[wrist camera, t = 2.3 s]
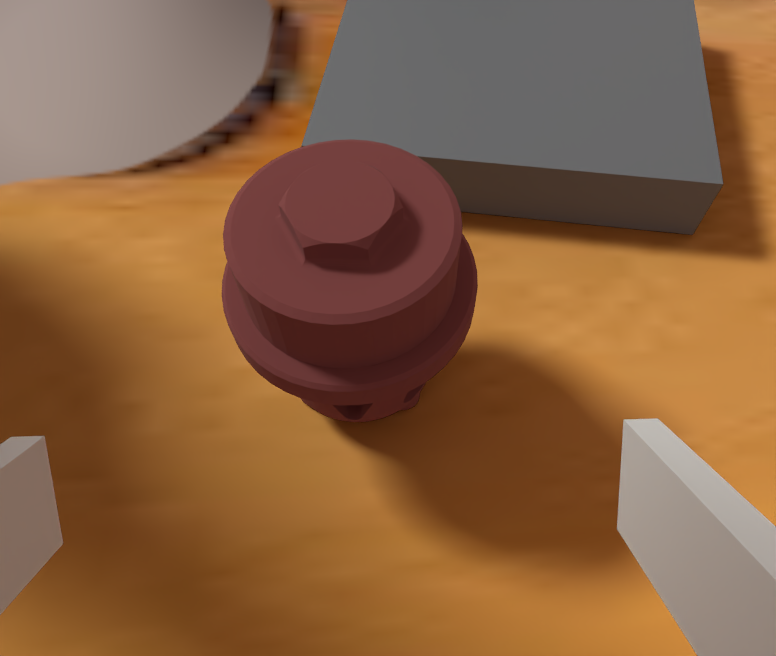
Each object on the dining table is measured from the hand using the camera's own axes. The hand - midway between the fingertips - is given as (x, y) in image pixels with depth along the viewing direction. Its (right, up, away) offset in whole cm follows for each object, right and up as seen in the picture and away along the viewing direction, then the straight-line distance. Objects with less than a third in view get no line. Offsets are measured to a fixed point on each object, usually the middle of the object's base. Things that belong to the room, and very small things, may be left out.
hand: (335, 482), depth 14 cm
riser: (+9, +18, +27) cm, 33 cm away
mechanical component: (0, +1, +17) cm, 17 cm away
